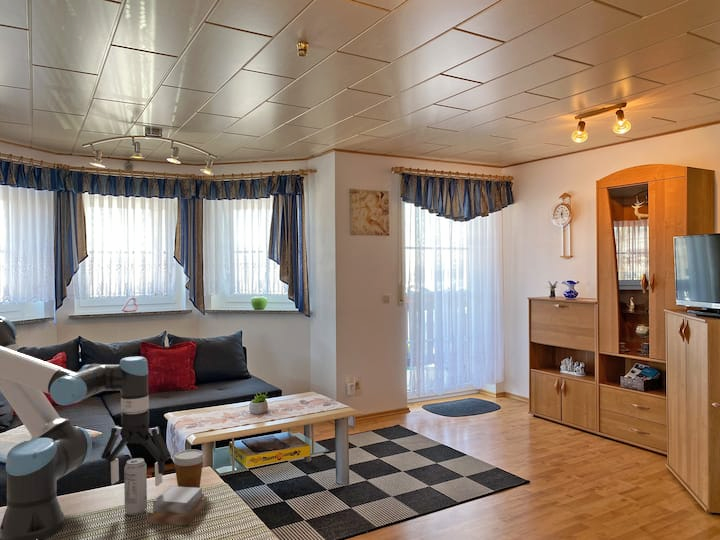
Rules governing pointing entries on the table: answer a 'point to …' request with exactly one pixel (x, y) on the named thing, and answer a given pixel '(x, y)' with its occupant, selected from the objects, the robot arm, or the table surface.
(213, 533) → the table surface
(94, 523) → the table surface
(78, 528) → the table surface
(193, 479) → the disposable coffee cup
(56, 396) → the robot arm
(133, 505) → the energy drink can
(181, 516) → the plinth
